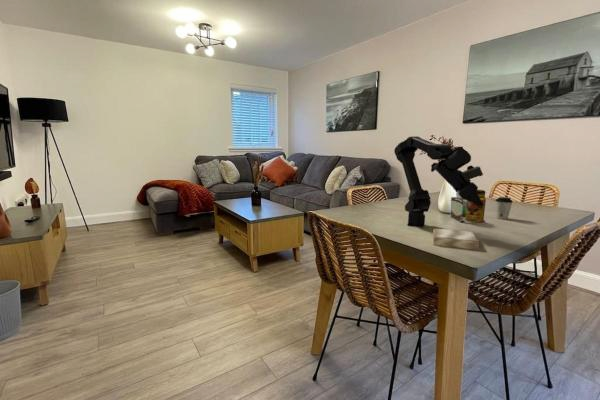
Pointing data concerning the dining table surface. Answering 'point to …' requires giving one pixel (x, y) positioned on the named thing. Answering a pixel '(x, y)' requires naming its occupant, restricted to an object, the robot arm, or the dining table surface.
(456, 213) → the food container
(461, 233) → the picture frame
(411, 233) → the dining table surface
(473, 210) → the condiment
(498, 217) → the coffee cup
